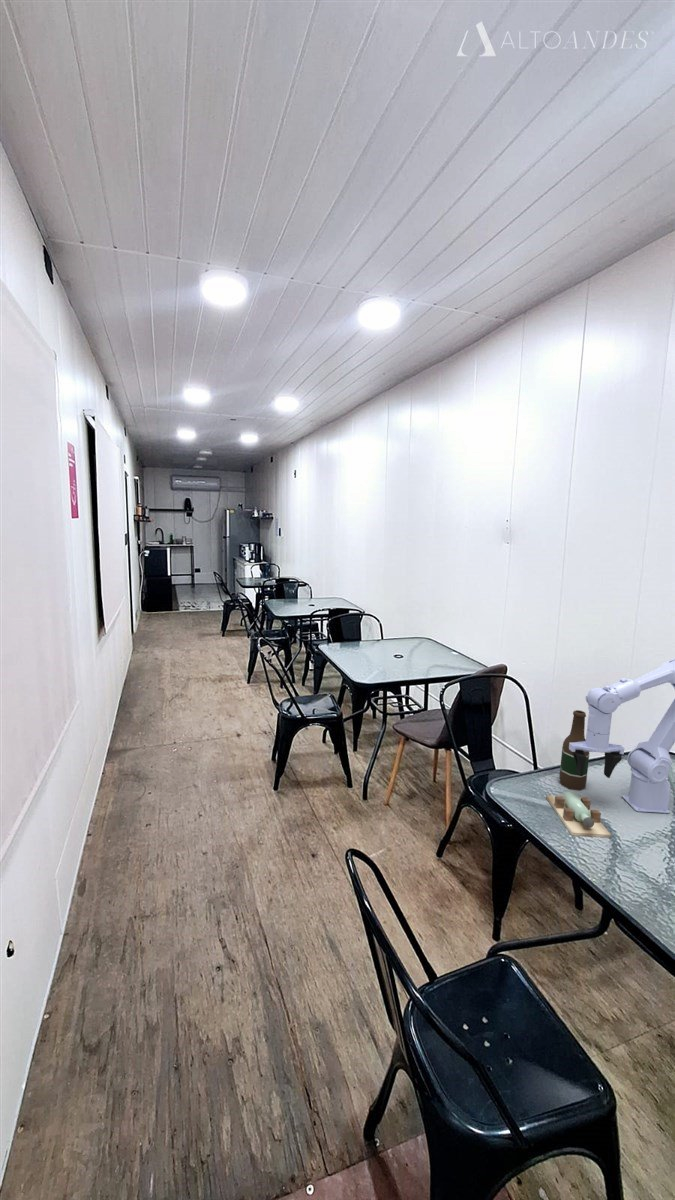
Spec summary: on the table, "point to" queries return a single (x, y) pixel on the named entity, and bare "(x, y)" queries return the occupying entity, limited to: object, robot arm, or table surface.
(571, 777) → the beer bottle
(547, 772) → the table surface
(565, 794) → the bottle
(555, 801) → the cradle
